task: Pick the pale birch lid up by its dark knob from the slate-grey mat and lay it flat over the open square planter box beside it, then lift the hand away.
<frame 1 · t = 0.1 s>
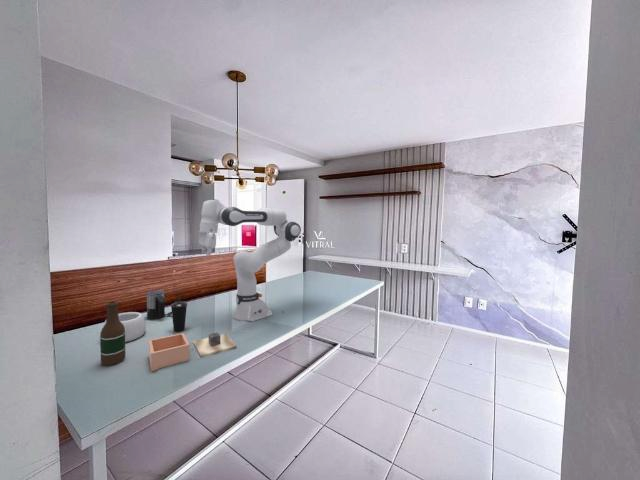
hand: (205, 254, 137), 39 cm above the table, tool pointing down, fingers open, 8 cm apart
milk frother: (164, 316, 150), on the table
slate mat: (214, 347, 116), on the table
beer bottle: (113, 361, 102), on the table
open square planter box: (168, 358, 105), on the table
mug: (123, 339, 120), on the table
drinking cup: (179, 330, 132), on the table
birch lid: (214, 345, 116), resting on slate mat
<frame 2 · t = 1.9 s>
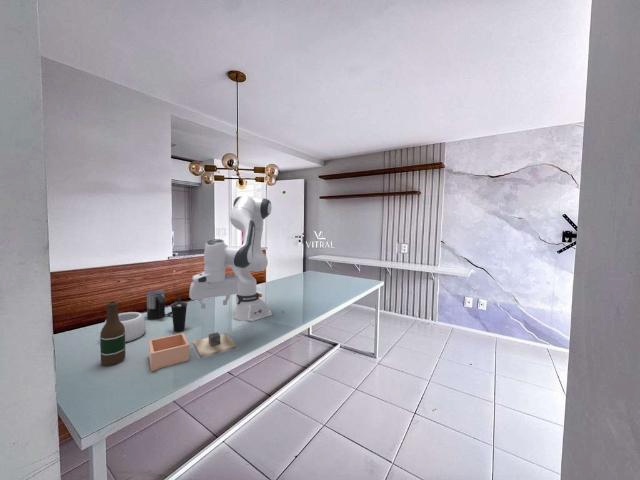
hand: (214, 306, 115), 19 cm above the table, tool pointing down, fingers open, 8 cm apart
nothing on the table moved.
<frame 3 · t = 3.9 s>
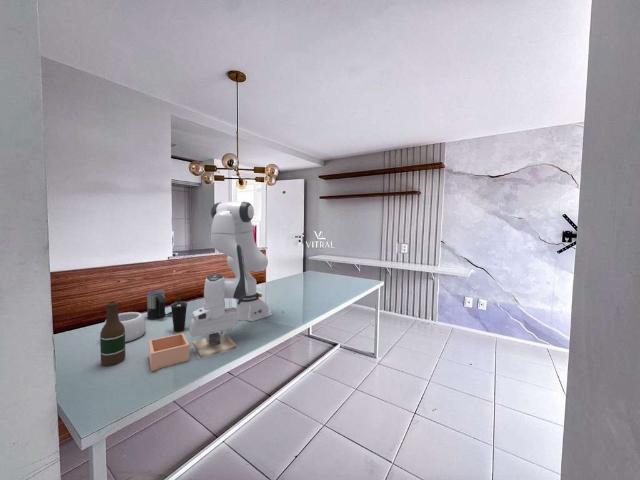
hand: (214, 340, 116), 3 cm above the table, tool pointing down, fingers closed on birch lid, 4 cm apart
birch lid: (214, 345, 116), resting on slate mat, touching gripper
everything else where it was.
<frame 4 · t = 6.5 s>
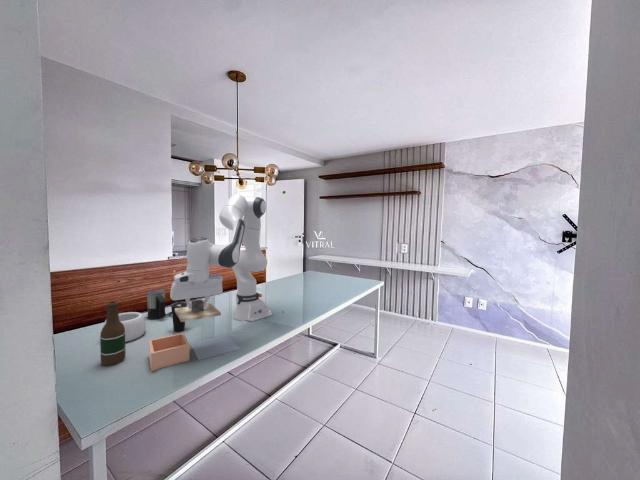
hand: (197, 307, 110), 20 cm above the table, tool pointing down, fingers closed on birch lid, 4 cm apart
birch lid: (197, 313, 110), point 17 cm above the table, touching gripper
everything else where it was.
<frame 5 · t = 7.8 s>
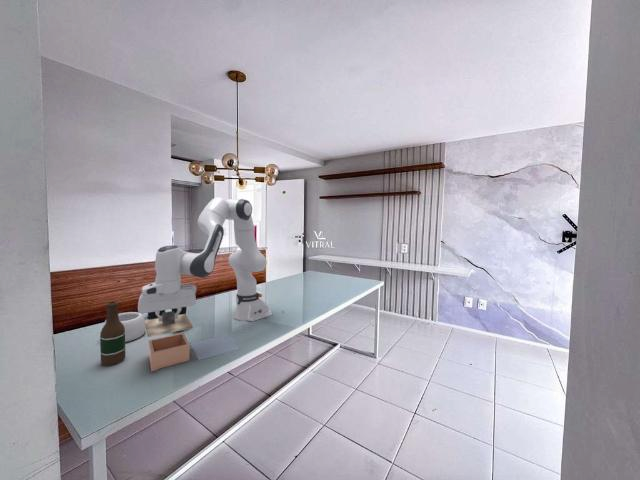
hand: (168, 319, 104), 17 cm above the table, tool pointing down, fingers closed on birch lid, 4 cm apart
birch lid: (168, 325, 104), point 14 cm above the table, touching gripper
everything else where it was.
when the fingers open (11 cm above the table, at t = 9.0 s): birch lid drops 1 cm, resting on open square planter box.
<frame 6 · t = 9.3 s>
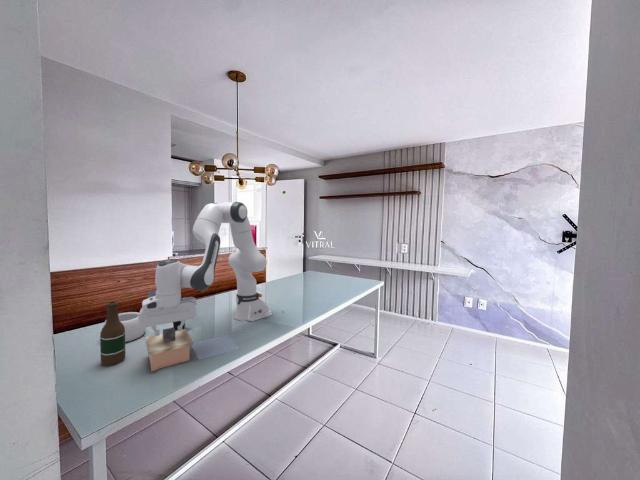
hand: (168, 332, 104), 11 cm above the table, tool pointing down, fingers open, 7 cm apart
birch lid: (169, 342, 105), point 7 cm above the table, touching open square planter box
everything else where it was.
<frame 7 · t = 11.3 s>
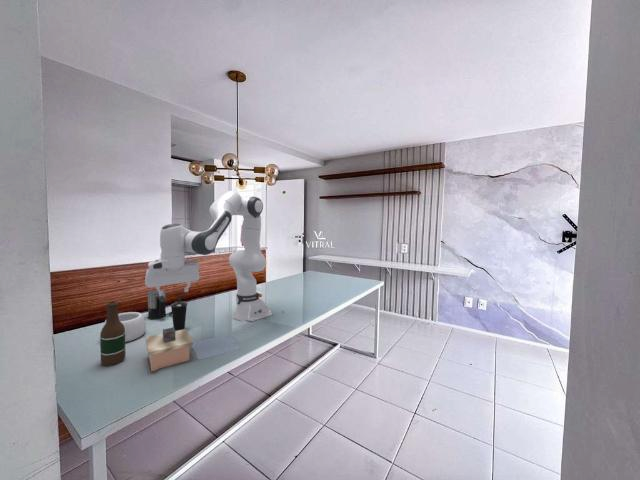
hand: (174, 293, 110), 25 cm above the table, tool pointing down, fingers open, 8 cm apart
nothing on the table moved.
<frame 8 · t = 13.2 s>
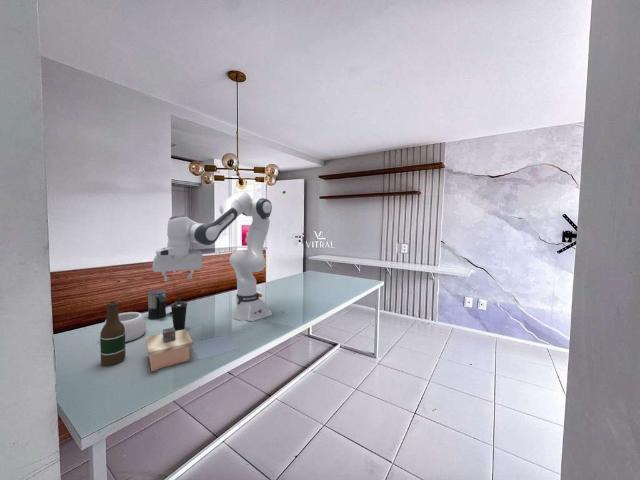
hand: (178, 279, 119), 29 cm above the table, tool pointing down, fingers open, 8 cm apart
nothing on the table moved.
at the end: birch lid 0.1 cm off-centre on the open square planter box, point 7.0 cm above the open square planter box's base; birch lid tilted 0°; the gripper is holding nothing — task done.
